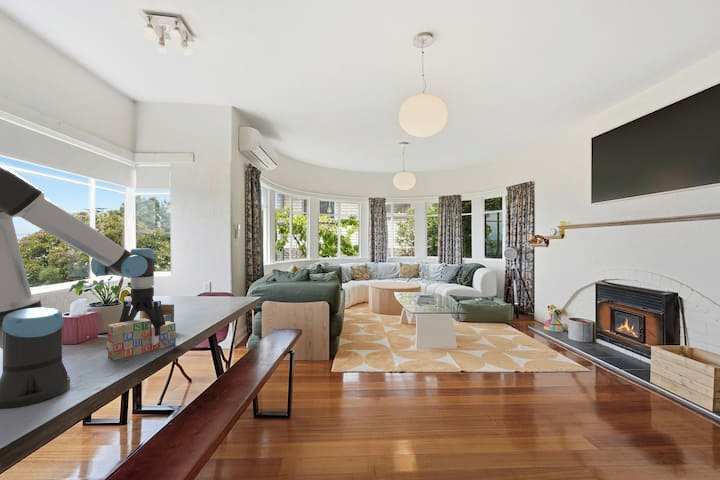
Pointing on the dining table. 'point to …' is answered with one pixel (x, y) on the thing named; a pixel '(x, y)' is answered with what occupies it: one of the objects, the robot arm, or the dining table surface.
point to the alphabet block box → (167, 313)
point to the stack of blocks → (137, 338)
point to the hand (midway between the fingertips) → (142, 343)
